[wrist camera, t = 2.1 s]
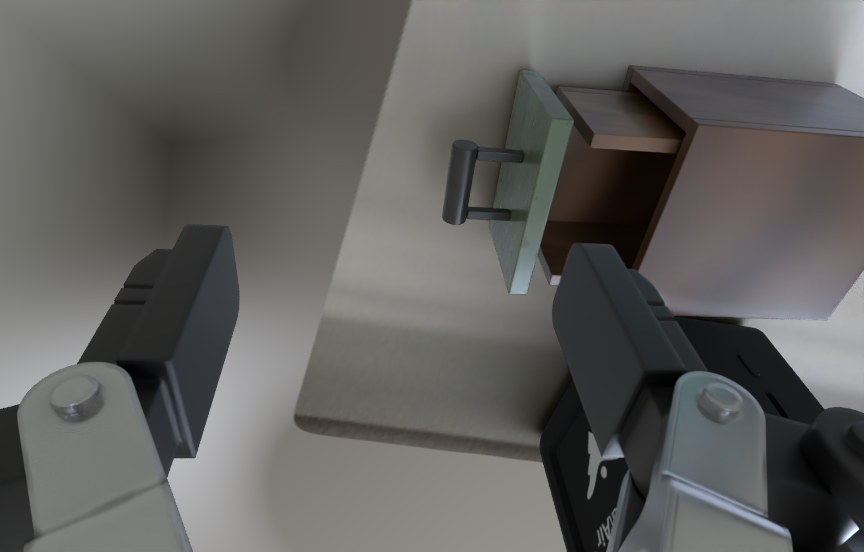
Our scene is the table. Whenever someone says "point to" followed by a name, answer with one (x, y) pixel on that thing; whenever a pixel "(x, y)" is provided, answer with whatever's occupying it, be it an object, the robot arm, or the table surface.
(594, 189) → the drawer
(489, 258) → the table surface
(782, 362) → the black nas enclosure
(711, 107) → the cabinet
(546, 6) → the table surface
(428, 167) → the table surface
